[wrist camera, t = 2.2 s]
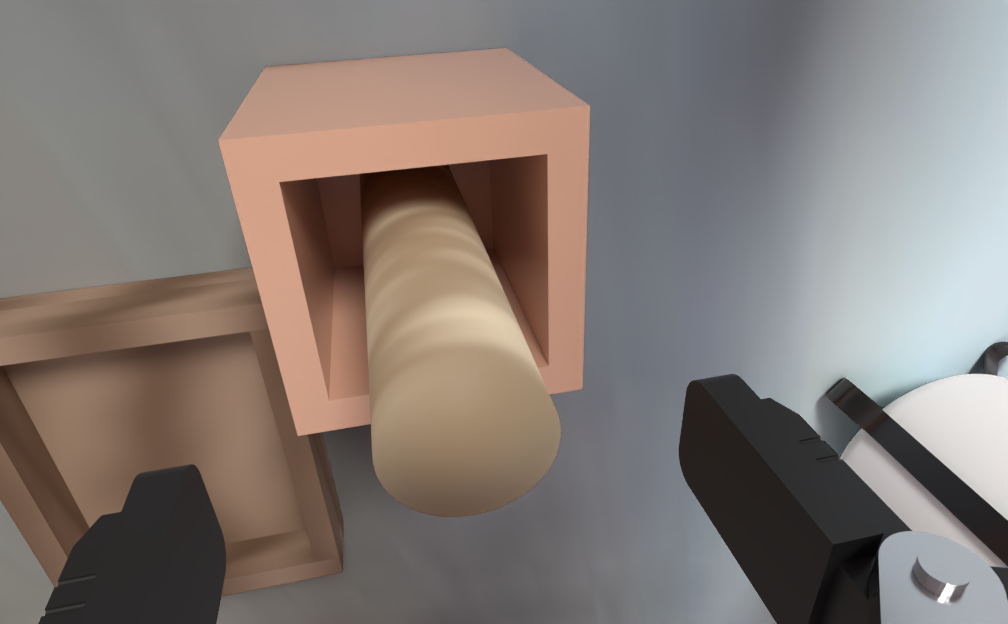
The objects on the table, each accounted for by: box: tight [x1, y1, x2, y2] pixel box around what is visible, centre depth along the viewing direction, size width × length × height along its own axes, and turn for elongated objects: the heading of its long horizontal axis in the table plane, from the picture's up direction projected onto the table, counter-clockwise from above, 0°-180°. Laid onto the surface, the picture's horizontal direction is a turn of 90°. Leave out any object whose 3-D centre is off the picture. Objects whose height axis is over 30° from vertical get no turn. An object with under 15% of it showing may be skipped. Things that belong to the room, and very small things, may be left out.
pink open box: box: [218, 48, 590, 436], centre depth 20 cm, size 8×8×9 cm
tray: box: [0, 268, 343, 596], centre depth 26 cm, size 11×14×3 cm
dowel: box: [360, 164, 561, 517], centre depth 17 cm, size 3×3×14 cm
